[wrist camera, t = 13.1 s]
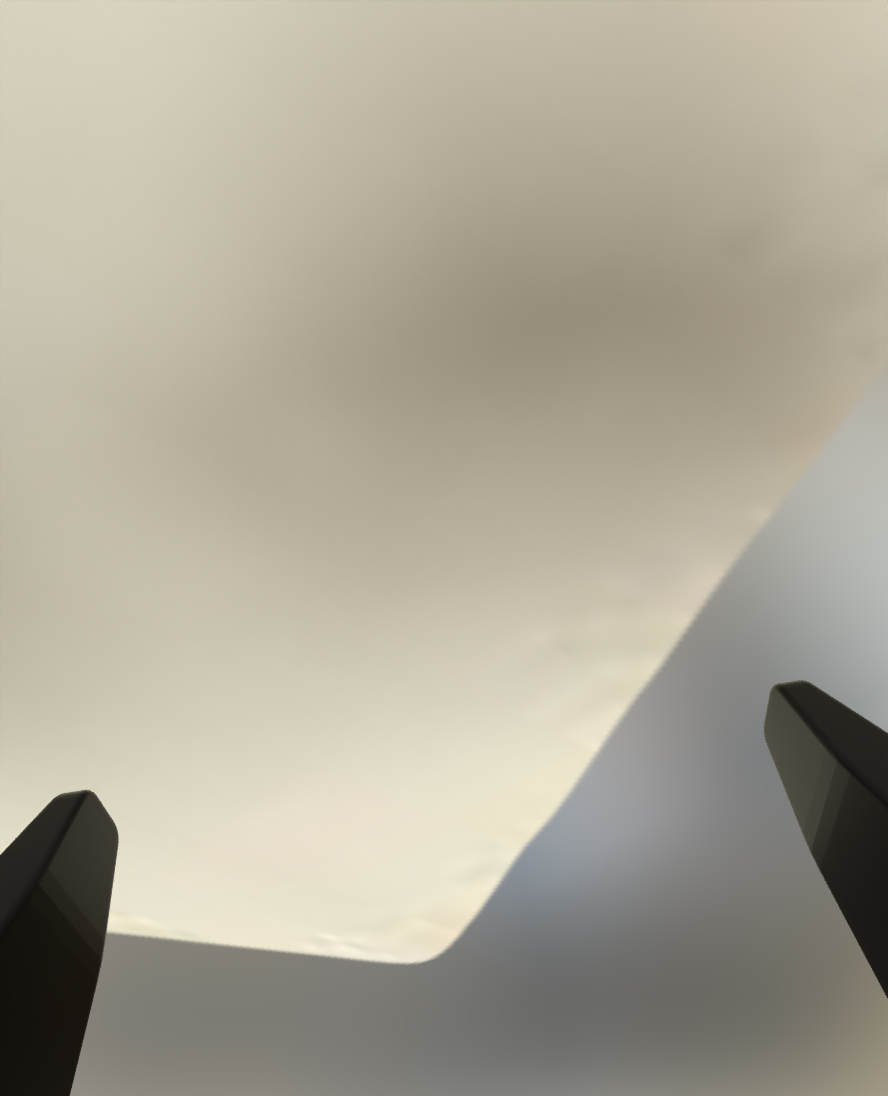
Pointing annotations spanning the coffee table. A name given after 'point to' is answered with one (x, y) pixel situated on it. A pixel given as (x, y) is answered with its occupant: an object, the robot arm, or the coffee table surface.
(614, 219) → the coffee table surface
